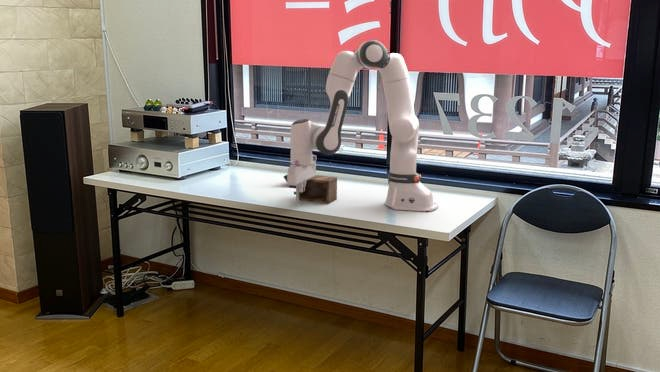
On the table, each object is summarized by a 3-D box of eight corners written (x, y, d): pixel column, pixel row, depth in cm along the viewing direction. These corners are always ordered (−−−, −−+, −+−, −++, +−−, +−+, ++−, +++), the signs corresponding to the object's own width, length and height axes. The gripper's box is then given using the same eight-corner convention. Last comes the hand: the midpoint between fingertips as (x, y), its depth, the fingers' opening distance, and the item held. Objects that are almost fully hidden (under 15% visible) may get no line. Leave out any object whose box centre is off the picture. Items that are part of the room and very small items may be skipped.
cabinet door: (297, 206, 264) (297, 185, 262) (293, 205, 264) (293, 185, 262) (299, 198, 276) (299, 179, 274) (295, 198, 276) (295, 179, 274)
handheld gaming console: (305, 185, 299) (293, 168, 299) (293, 194, 300) (281, 176, 301) (311, 184, 310) (300, 167, 311) (300, 192, 311) (288, 175, 312)
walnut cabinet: (336, 199, 280) (337, 177, 277) (328, 203, 271) (329, 181, 269) (305, 195, 285) (305, 174, 283) (297, 200, 277) (297, 177, 275)
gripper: (297, 164, 251) (297, 198, 254) (318, 155, 269) (318, 187, 272) (282, 162, 253) (283, 196, 256) (304, 154, 272) (305, 186, 275)
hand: (301, 191), depth 264 cm, fingers closed
